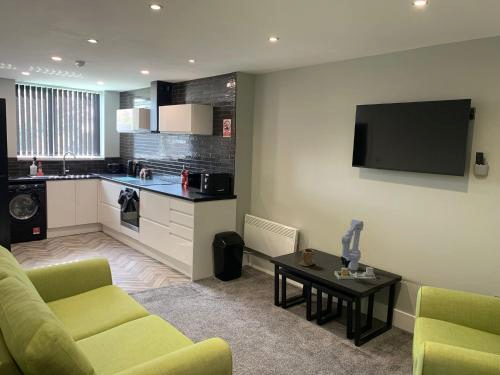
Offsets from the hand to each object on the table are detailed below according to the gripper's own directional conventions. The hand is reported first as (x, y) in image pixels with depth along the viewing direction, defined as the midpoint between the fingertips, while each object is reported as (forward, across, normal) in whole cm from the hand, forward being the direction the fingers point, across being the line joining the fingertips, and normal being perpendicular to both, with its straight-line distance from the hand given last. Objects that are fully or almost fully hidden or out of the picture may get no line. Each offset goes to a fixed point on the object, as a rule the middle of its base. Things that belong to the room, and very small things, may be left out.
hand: (344, 266), depth 317 cm
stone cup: (+10, -29, -25) cm, 40 cm away
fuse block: (+9, 0, +16) cm, 19 cm away
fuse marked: (+9, 0, 0) cm, 9 cm away
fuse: (+8, 0, +21) cm, 23 cm away
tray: (+9, 0, 0) cm, 9 cm away
